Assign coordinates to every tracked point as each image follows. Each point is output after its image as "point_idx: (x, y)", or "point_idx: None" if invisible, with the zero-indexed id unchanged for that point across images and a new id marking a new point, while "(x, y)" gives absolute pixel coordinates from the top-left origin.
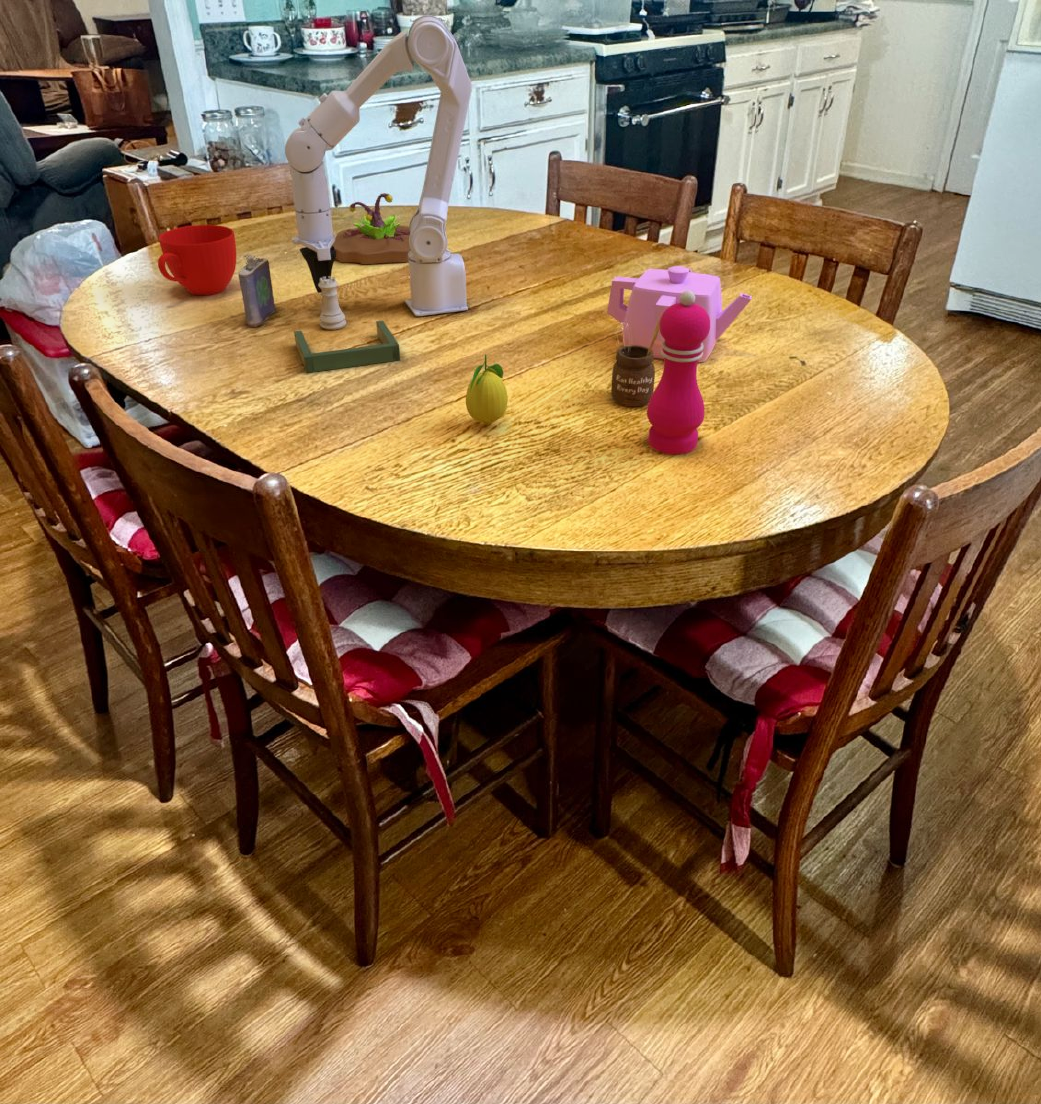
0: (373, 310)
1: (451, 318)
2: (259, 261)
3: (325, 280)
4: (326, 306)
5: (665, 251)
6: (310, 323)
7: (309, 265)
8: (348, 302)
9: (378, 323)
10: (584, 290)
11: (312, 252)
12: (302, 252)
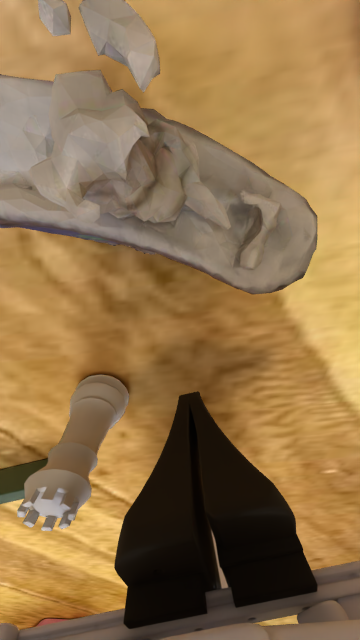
0: None
1: None
2: (247, 235)
3: (24, 513)
4: (66, 426)
5: None
6: (118, 352)
7: (147, 482)
8: (231, 403)
9: None
10: None
11: (157, 576)
12: (160, 547)
